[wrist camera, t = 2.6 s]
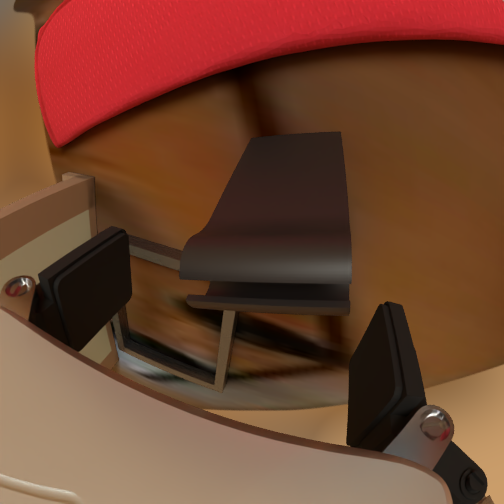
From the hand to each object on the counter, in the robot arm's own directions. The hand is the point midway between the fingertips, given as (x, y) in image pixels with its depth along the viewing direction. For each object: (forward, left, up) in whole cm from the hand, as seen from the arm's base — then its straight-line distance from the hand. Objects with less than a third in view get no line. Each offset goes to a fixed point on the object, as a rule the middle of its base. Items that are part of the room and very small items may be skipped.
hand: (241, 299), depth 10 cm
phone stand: (-1, 0, -12) cm, 12 cm away
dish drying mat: (+7, -16, -13) cm, 22 cm away
